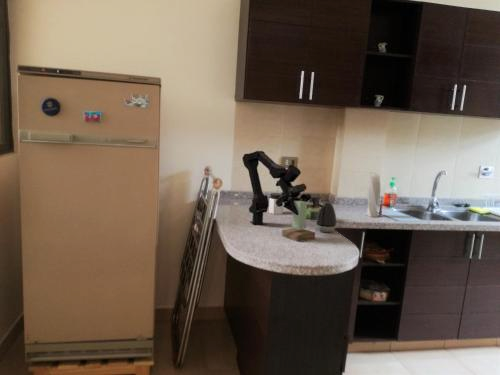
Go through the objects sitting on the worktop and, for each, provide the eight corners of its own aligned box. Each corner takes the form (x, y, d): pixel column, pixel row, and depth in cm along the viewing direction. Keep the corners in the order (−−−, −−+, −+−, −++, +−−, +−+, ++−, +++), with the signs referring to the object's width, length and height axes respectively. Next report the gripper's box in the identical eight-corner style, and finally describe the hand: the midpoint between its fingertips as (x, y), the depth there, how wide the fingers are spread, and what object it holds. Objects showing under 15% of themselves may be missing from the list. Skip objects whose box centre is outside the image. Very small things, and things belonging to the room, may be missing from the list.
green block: (292, 226, 185) (293, 201, 183) (299, 225, 188) (300, 200, 186) (298, 228, 181) (300, 202, 180) (305, 227, 184) (307, 202, 182)
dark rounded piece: (314, 228, 205) (315, 200, 202) (333, 229, 204) (335, 201, 202) (316, 233, 194) (318, 203, 192) (337, 234, 194) (339, 204, 192)
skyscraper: (371, 218, 239) (374, 173, 235) (362, 215, 246) (366, 171, 242) (382, 217, 242) (386, 173, 238) (373, 215, 249) (377, 171, 245)
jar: (281, 211, 246) (282, 193, 244) (284, 214, 238) (285, 195, 236) (267, 211, 245) (268, 192, 244) (269, 214, 237) (270, 194, 236)
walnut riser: (281, 237, 186) (282, 229, 186) (298, 234, 193) (299, 227, 192) (297, 242, 177) (298, 235, 177) (314, 239, 184) (315, 232, 183)
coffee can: (313, 222, 219) (314, 197, 217) (298, 219, 226) (299, 195, 224) (323, 219, 227) (324, 196, 225) (308, 216, 234) (309, 193, 232)
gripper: (281, 178, 179) (295, 206, 172) (310, 177, 190) (325, 203, 183) (269, 192, 186) (283, 219, 179) (298, 190, 197) (312, 216, 190)
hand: (301, 214), depth 182 cm, fingers closed on green block, 4 cm apart
